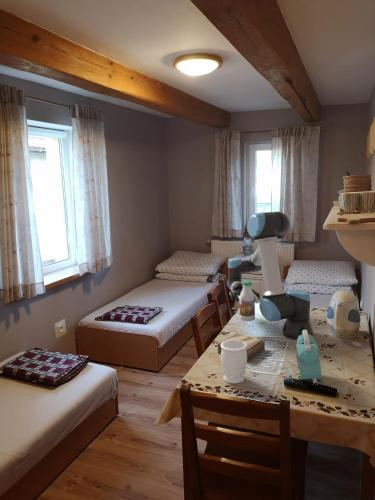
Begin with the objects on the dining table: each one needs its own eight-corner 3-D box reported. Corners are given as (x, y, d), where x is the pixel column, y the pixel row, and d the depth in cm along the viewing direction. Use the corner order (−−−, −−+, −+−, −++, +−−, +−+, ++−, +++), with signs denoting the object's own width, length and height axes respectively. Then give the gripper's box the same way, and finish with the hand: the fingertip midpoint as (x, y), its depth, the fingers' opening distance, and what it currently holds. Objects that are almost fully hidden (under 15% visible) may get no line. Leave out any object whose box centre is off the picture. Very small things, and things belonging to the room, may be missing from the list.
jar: (229, 387, 154) (228, 352, 151) (216, 376, 163) (216, 342, 160) (252, 381, 158) (251, 346, 155) (238, 370, 167) (238, 337, 164)
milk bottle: (239, 316, 206) (238, 279, 203) (253, 316, 206) (253, 279, 203) (240, 321, 199) (240, 283, 196) (255, 321, 199) (255, 283, 195)
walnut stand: (264, 349, 187) (264, 339, 186) (247, 362, 174) (247, 351, 174) (236, 341, 197) (236, 332, 196) (218, 353, 184) (217, 343, 184)
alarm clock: (323, 390, 150) (324, 340, 146) (297, 388, 152) (298, 339, 148) (317, 368, 167) (319, 324, 163) (294, 367, 168) (295, 323, 165)
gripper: (256, 294, 220) (269, 307, 197) (221, 297, 218) (229, 309, 196) (256, 281, 219) (269, 292, 196) (220, 284, 217) (229, 295, 194)
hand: (249, 301), depth 196 cm, fingers closed on milk bottle, 7 cm apart
